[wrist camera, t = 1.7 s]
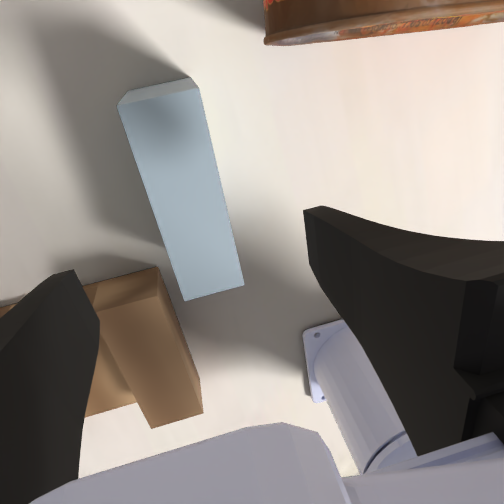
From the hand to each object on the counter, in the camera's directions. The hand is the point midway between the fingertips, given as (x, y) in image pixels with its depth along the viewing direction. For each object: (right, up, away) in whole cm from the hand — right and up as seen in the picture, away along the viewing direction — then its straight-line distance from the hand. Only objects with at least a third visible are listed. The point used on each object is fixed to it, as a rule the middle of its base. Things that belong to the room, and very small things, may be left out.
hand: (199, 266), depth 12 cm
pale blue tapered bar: (-2, +5, +8) cm, 10 cm away
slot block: (-9, -6, +12) cm, 16 cm away
